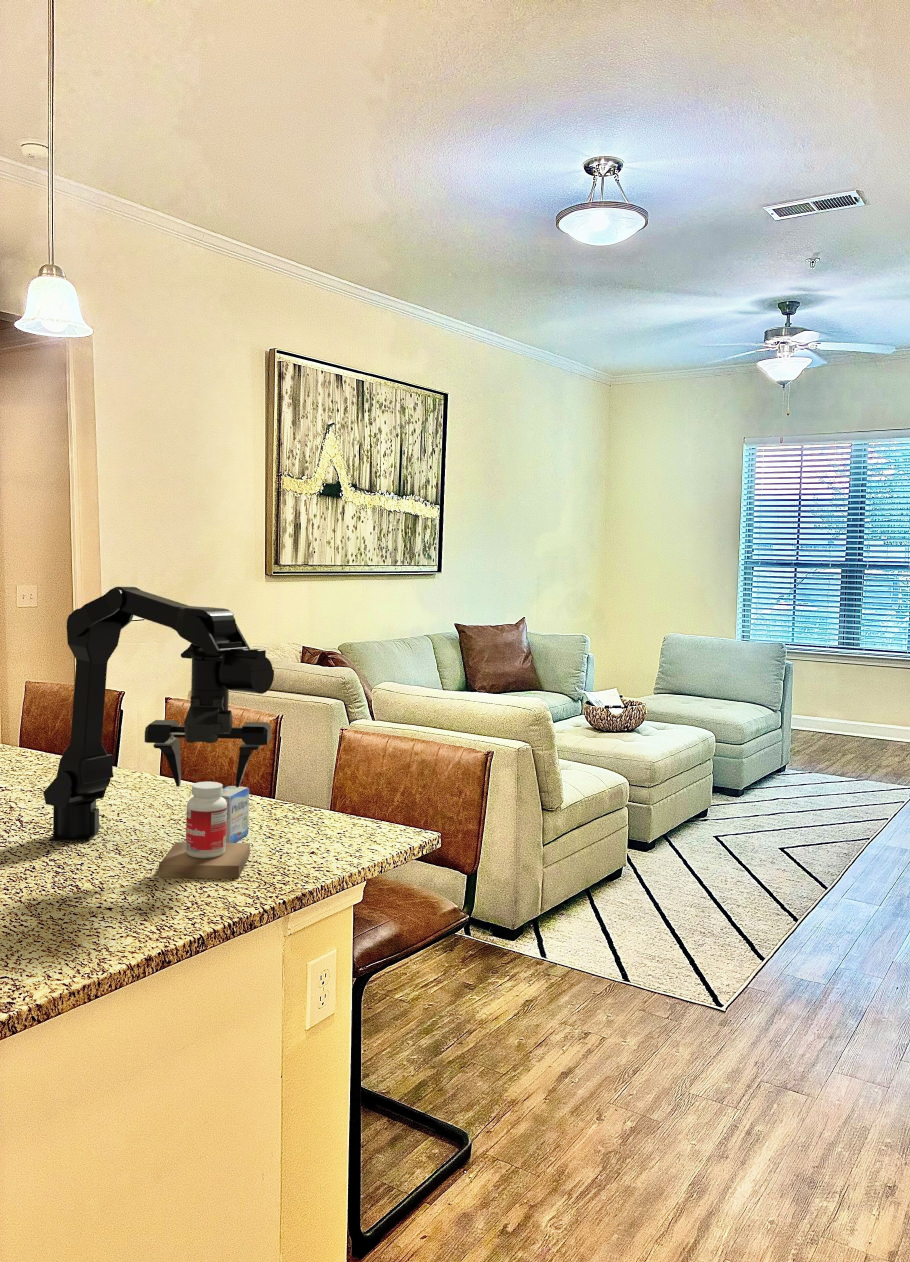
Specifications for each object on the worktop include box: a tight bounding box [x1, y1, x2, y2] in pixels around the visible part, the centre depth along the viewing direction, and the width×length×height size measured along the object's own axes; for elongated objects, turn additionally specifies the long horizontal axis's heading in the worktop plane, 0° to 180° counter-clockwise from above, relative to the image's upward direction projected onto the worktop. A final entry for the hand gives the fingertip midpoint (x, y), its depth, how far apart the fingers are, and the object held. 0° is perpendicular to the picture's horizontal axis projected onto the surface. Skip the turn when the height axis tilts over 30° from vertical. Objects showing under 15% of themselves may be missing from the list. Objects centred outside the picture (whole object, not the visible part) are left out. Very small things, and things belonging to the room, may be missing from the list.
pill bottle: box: [185, 781, 227, 859], centre depth 150 cm, size 6×6×11 cm
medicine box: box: [221, 785, 250, 843], centre depth 165 cm, size 8×4×9 cm, turn 168°
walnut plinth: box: [158, 841, 251, 880], centre depth 150 cm, size 12×12×2 cm
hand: (208, 786), depth 149 cm, fingers open, 9 cm apart
